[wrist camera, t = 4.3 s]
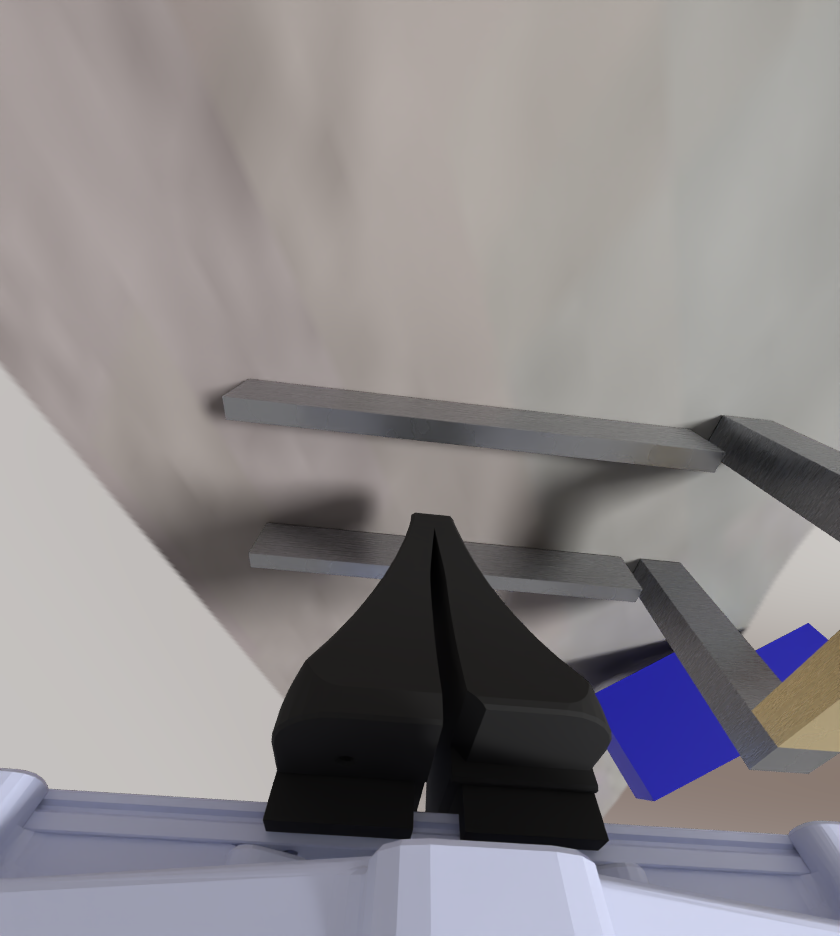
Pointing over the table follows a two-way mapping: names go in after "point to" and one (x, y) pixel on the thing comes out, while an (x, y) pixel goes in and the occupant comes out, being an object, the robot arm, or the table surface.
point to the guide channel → (468, 428)
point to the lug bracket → (723, 647)
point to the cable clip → (680, 718)
